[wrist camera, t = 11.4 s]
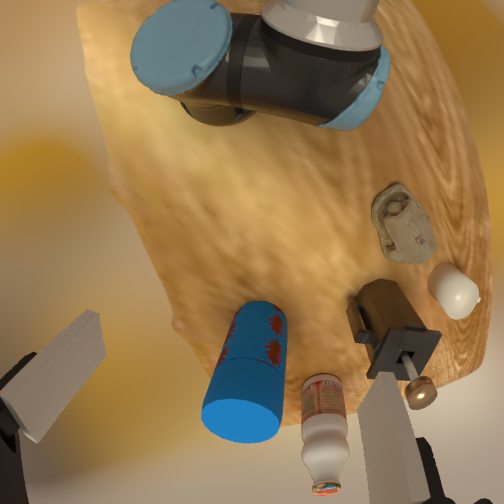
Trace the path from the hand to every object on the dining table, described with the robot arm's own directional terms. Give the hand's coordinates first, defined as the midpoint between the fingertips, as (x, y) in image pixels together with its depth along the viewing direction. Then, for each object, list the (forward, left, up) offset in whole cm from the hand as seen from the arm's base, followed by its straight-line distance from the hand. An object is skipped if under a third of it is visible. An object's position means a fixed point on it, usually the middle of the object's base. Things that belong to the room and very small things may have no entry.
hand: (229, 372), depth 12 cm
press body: (+14, +22, -39) cm, 47 cm away
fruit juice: (+38, +18, -39) cm, 57 cm away
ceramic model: (-2, +22, -39) cm, 45 cm away
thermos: (+23, +1, -39) cm, 45 cm away
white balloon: (+7, +37, -39) cm, 54 cm away
